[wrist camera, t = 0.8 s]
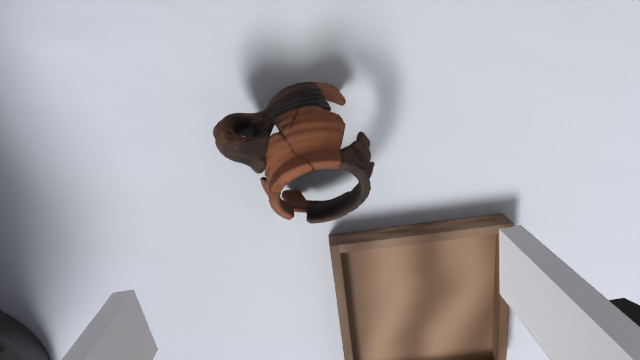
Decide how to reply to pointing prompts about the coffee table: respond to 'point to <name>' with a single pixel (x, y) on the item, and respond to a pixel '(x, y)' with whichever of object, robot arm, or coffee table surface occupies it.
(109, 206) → the coffee table surface
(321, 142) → the pottery mug
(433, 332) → the walnut tray
